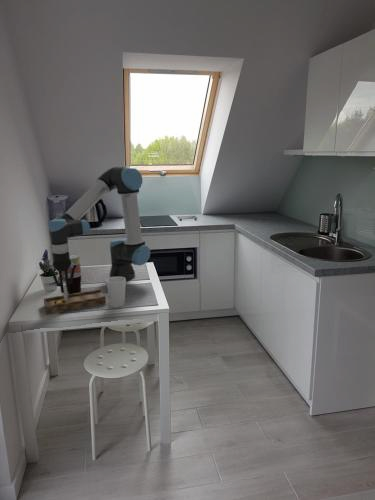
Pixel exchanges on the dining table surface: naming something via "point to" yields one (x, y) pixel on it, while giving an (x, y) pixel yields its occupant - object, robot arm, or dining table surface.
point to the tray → (74, 301)
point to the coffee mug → (75, 283)
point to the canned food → (74, 260)
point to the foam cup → (116, 290)
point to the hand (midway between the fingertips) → (66, 298)
